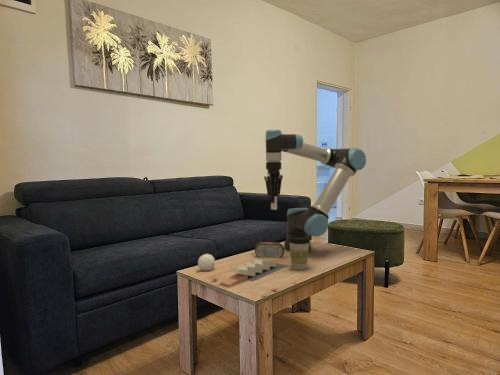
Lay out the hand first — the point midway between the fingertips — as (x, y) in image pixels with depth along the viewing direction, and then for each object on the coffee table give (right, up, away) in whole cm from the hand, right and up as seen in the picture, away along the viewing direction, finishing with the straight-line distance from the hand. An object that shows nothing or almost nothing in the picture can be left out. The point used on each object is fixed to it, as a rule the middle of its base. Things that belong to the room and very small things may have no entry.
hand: (274, 209), depth 166 cm
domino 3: (-8, -26, -18) cm, 32 cm away
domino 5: (-2, -25, -10) cm, 27 cm away
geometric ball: (-32, -27, -13) cm, 44 cm away
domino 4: (-5, -25, -14) cm, 29 cm away
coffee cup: (+11, -27, -12) cm, 32 cm away
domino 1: (-15, -26, -25) cm, 39 cm away
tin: (-2, -26, +5) cm, 26 cm away
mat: (-7, -27, -16) cm, 32 cm away
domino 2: (-12, -26, -22) cm, 36 cm away
